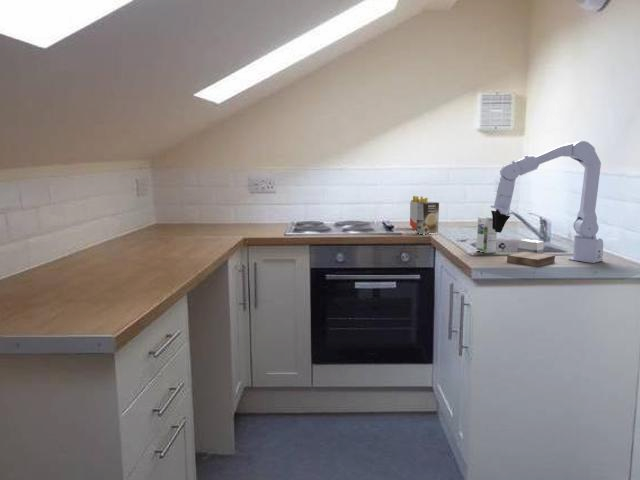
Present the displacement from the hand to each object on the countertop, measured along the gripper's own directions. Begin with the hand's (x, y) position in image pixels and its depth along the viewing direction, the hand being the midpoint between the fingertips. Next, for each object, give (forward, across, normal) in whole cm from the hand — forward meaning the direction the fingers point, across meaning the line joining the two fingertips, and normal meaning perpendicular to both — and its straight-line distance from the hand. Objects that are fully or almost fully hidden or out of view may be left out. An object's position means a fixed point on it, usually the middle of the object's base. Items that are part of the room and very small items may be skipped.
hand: (496, 230), depth 205 cm
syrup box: (+11, -13, 0) cm, 17 cm away
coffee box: (+15, -61, -23) cm, 67 cm away
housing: (+8, -7, +16) cm, 19 cm away
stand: (+8, +7, +13) cm, 17 cm away
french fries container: (+15, -77, -27) cm, 83 cm away
